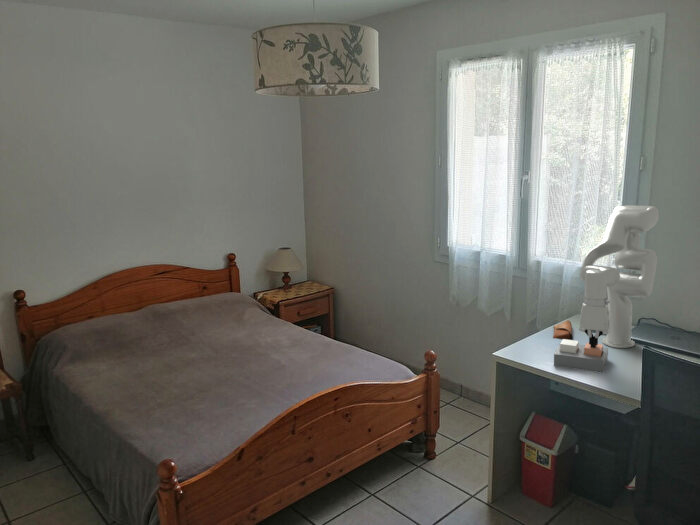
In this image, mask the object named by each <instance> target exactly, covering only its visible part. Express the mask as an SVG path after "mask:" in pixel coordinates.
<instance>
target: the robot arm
mask: <svg viewBox="0 0 700 525" xmlns="http://www.w3.org/2000/svg"><path fill="white" fill-rule="evenodd" d="M659 216H660V213H659V210H658V208H657V207H655V206H652V205H635V204H634V205H631V204H630V205H629V204H627V205H619V206H616V207H615V208H614V209H613V211H612V214H611V215H610V216H609V219H608V222H607V224H606V229H605V231H604V234H603V238H602V241H601V242H600V243H598V244H597V245H596V246H595V245H594V247H593V248H592V249H590V250H589V251H588V252H587V254H586V255H585V256H584V258H583V262H582V265H581V267H580V271H579V278H580V280H581V282H583V283H584V302H583V303H582V305H581V310H580V315H579V316H580V317H579V318H580V319H579V329H578V330H579V331H580V332H583V333H585V334H586V335H587V336H588V343H589V344H590V345H591V347H594V348H595V347H596V345H598V344H599V338H600V337H601V336H603V335H602V334H607V335H605V337H602V340H601V342H602V343H603V345H605V346H608V347H611V348H616V349H617V348H619V349H629V348H632V347H634V346H635V344H636V342H635V340H634V339H632V322H633V321H632V320H633V303H632V300H631V299H630V298H629V297H637V298H648V297H650V295H651V294H652V291H653V286H654V280H655V276H656V271H657V265H658V257H657V253H656V252H655V251H654V250H653V249H648V248H640V245H641V240H642V238H641V235H640V233H647V232H648V231H649V230H650V229H652V228H653V227H655V225H656V224H658V221H659V218H660V217H659ZM612 254H613V255H614V260H613V263H614V266H615V267H613V266H605V265H604V266H603V265H595V263H596V262H597V261H598V260H599V259H601V258H604V257H607V256H610V255H612ZM618 269H620V270H625V271H633V272H625V271H620V270H618ZM634 272H640V273H634ZM593 331H596V332H595V334H593ZM631 339H632V340H631ZM633 340H634V341H633Z"/></svg>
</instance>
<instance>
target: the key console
mask: <svg viewBox="0 0 700 525" xmlns="http://www.w3.org/2000/svg"><path fill="white" fill-rule="evenodd" d="M585 345H586V344H585ZM585 345H584V344H580V343H578V351H577V353H569V352H562V351H560V343H559V345H558V346H557V348H556V350H555V352H554V354H553V366H554V367H561V368H562V367H563V368H568V369H573V370H574V369H575V370H580V371H587V372H588V371H589V372H594V373H595V372H596V373H601V374H604V372H605V368H606V366H607V362H608V360H609V359H608V356H609V347H603V353H602V356H601V357H600V356H592V355H584V347H585Z"/></svg>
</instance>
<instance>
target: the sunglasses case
mask: <svg viewBox="0 0 700 525" xmlns="http://www.w3.org/2000/svg"><path fill="white" fill-rule="evenodd" d="M552 338H553V339H559V340H560V339H561V340H563V339H566V340H573V326H572V323H571V321H570V320H568V319H567V320H564V321H563V322H562V323H558V324H555V325H553V335H552Z"/></svg>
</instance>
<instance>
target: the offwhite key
mask: <svg viewBox="0 0 700 525" xmlns="http://www.w3.org/2000/svg"><path fill="white" fill-rule="evenodd" d="M559 344H560V351H562V352H569V353H577V351H578V344H580V343H579V340H573V339H561V341H560V343H559Z"/></svg>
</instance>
